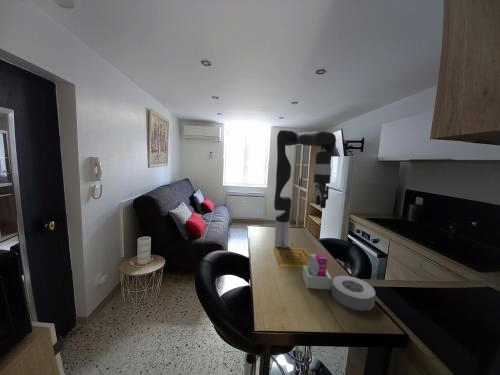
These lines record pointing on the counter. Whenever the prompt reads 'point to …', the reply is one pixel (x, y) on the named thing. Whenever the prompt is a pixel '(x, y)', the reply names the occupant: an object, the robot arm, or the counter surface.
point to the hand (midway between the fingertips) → (320, 206)
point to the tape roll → (353, 293)
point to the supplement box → (317, 265)
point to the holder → (316, 280)
